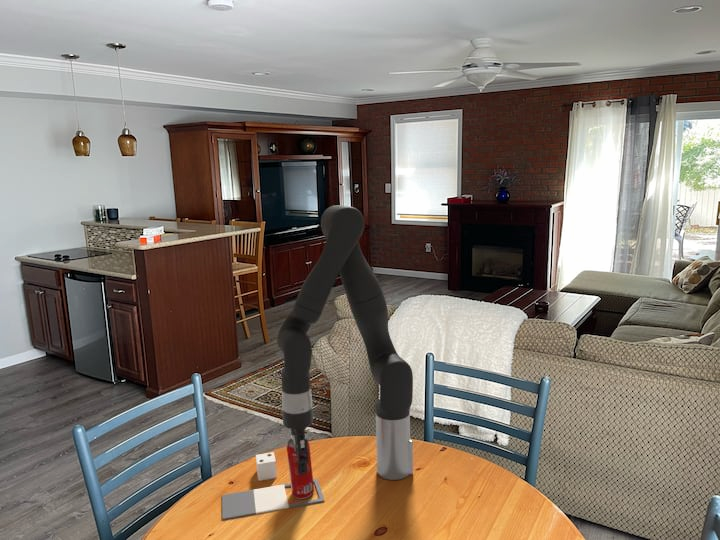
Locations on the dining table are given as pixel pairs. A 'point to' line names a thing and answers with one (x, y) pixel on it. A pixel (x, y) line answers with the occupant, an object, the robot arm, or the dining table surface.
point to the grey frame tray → (261, 501)
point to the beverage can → (299, 483)
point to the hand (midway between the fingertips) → (300, 465)
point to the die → (266, 466)
